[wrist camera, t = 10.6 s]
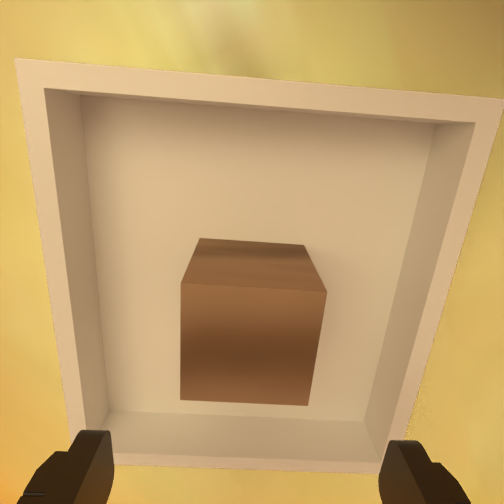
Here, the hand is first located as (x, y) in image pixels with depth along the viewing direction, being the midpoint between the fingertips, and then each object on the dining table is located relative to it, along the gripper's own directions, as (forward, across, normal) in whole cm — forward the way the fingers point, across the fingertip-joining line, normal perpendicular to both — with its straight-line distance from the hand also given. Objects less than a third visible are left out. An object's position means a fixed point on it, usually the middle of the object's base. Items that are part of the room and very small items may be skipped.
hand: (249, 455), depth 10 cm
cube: (+11, 0, 0) cm, 11 cm away
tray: (+12, 0, 0) cm, 12 cm away
